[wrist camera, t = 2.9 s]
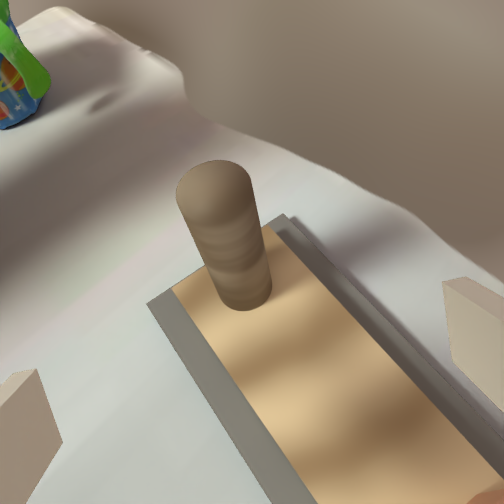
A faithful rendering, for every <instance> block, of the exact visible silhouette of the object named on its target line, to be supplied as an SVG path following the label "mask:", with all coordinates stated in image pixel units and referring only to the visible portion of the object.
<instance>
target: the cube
mask: <svg viewBox="0 0 504 504" xmlns="http://www.w3.org/2000/svg"><path fill="white" fill-rule="evenodd" d="M467 504H504V489H500V490H495V491H490V492H485V493H480V494H477V495H475V496H474V497H473V498H472V499H471V500H470V501H469V502H468V503H467Z"/></svg>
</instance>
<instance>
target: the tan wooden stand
mask: <svg viewBox="0 0 504 504" xmlns="http://www.w3.org/2000/svg"><path fill="white" fill-rule="evenodd" d="M176 201H177V204H178V206H179V208H180V210H181V213H182V215H183V217H184V219H185V222H186V224H187V226H188V228H189V230H190V233H191V235H192V237H193V239H194V241H195V244H196V246H197V248H198V250H199V252H200V255H201V257H202V259H203V261H204V264H205V266H204V267H202V268H201V269H199V270H198V271H196V272H195V273H193V274H192V275H190V276H189V277H187V278H186V279H184V280H183V281H181V282H180V283H178V284H177V285H175V286H174V287H172V288H171V289H172V290H173V292H174V293H175V295H176V297H177V298H178V299H179V301H180V302H181V304H182V305H183V307H184V308H185V310H186V311H187V313H188V314H189V316H190V317H191V319H192V320H193V321H194V323H195V324H196V326H197V327H198V329H199V330H200V332H201V333H202V335H203V336H204V338H205V339H206V340H207V342H208V343H209V345H210V346H211V348H212V349H213V351H214V352H215V354H216V355H217V357H218V358H219V360H220V361H221V362H222V364H223V365H224V367H225V368H226V370H227V371H228V373H229V374H230V376H231V377H232V379H233V380H234V381H235V383H236V384H237V386H238V387H239V389H240V390H241V392H242V393H243V395H244V396H245V398H246V399H247V401H248V402H249V403H250V405H251V406H252V408H253V409H254V411H255V412H256V414H257V415H258V417H259V418H260V420H261V421H262V422H263V424H264V425H265V427H266V428H267V430H268V431H269V433H270V434H271V436H272V437H273V439H274V440H275V442H276V443H277V444H278V446H279V447H280V449H281V450H282V452H283V453H284V455H285V456H286V458H287V459H288V461H289V462H290V463H291V465H292V466H293V468H294V469H295V471H296V472H297V474H298V475H299V477H300V478H301V480H302V481H303V483H304V484H305V485H306V487H307V488H308V490H309V491H310V493H311V494H312V496H313V497H314V499H315V500H316V502H317V503H318V504H467V503H468V502H469V501H470V500H471V499H472V498H473V497H474V496H475V495H477V494H480V493H485V492H490V491H495V490H500V489H504V480H503V479H502V477H501V476H500V475H499V474H498V473H497V472H496V471H495V470H494V469H493V468H492V467H491V466H490V464H489V463H488V462H487V461H486V460H485V459H484V458H483V457H482V456H481V455H480V454H479V453H478V452H477V450H476V449H475V448H474V447H473V446H472V445H471V444H470V443H469V442H468V441H467V440H466V439H465V437H464V436H463V435H462V434H461V433H460V432H459V431H458V430H457V429H456V428H455V427H454V426H453V424H452V423H451V422H450V421H449V420H448V419H447V418H446V417H445V416H444V415H443V414H442V413H441V412H440V410H439V409H438V408H437V407H436V406H435V405H434V404H433V403H432V402H431V401H430V400H429V399H428V397H427V396H426V395H425V394H424V393H423V392H422V391H421V390H420V389H419V388H418V387H417V386H416V384H415V383H414V382H413V381H412V380H411V379H410V378H409V377H408V376H407V375H406V374H405V373H404V372H403V370H402V369H401V368H400V367H399V366H398V365H397V364H396V363H395V362H394V361H393V360H392V359H391V357H390V356H389V355H388V354H387V353H386V352H385V351H384V350H383V349H382V348H381V347H380V346H379V344H378V343H377V342H376V341H375V340H374V339H373V338H372V337H371V336H370V335H369V334H368V333H367V332H366V330H365V329H364V328H363V327H362V326H361V325H360V324H359V323H358V322H357V321H356V320H355V319H354V317H353V316H352V315H351V314H350V313H349V312H348V311H347V310H346V309H345V308H344V307H343V306H342V304H341V303H340V302H339V301H338V300H337V299H336V298H335V297H334V296H333V295H332V294H331V293H330V292H329V290H328V289H327V288H326V287H325V286H324V285H323V284H322V283H321V282H320V281H319V280H318V279H317V277H316V276H315V275H314V274H313V273H312V272H311V271H310V270H309V269H308V268H307V267H306V266H305V264H304V263H303V262H302V261H301V260H300V259H299V258H298V257H297V256H296V255H295V254H294V253H293V252H292V250H291V249H290V248H289V247H288V246H287V245H286V244H285V243H284V242H283V241H282V240H281V239H280V237H279V236H278V235H277V234H276V233H275V232H274V231H273V230H272V229H271V228H270V227H269V226H268V224H267V225H266V226H264V227H263V228H261V226H260V221H259V216H258V212H257V207H256V202H255V197H254V192H253V188H252V183H251V179H250V176H249V174H248V173H247V172H246V170H245V169H244V168H242V167H241V166H239V165H238V164H236V163H233V162H230V161H224V160H215V161H209V162H205V163H202V164H200V165H198V166H196V167H194V168H192V169H191V170H190V171H188V172H187V173H186V174H185V175H184V176H183V178H182V179H181V180H180V182H179V184H178V186H177V190H176Z"/></svg>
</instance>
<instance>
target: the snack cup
mask: <svg viewBox="0 0 504 504" xmlns="http://www.w3.org/2000/svg"><path fill="white" fill-rule="evenodd" d="M50 84H51V79H50V75H49V73H48V72H47V70H46V69H45V68H44V67H43V66H42V65H41V64H40V63H39V62H38V60H37V59H36V58H35V57H34V56H33V55H32V54H31V53H30V52H29V51H28V50H27V48H26V47H25V46H24V45H23V43H22V41H21V39H20V36H19V34H18V32H17V30H16V28H15V26H14V24H13V22H12V20H11V17H10V11H9V3H8V0H0V129H5V128H6V127H8V126H11V125H14V124H16V123H18V122H20V121H21V120H23V119H25V118H27V117H28V116H29V115H30V114H32V113H35V112H36V110H37V108H38V105H39V103H40V101H41V98H42V97H43V95H44V94H45V93H46V92H47V91H48V89H49V87H50Z"/></svg>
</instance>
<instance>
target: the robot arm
mask: <svg viewBox="0 0 504 504" xmlns="http://www.w3.org/2000/svg"><path fill="white" fill-rule="evenodd" d="M442 286H443V294H444V302H445V310H446V318H447V325H448V333H449V341H450V349H451V357H452V362H453V363H454V364H455V365H456V366H457V367H458V368H459V369H460V370H461V371H462V372H463V373H464V374H465V375H466V376H467V377H468V378H469V379H470V380H471V381H472V382H473V383H474V384H475V385H476V386H477V387H478V388H479V389H480V390H481V391H482V392H483V393H484V394H485V395H486V396H487V397H488V398H489V399H490V400H491V401H492V402H493V403H494V404H495V405H496V406H497V407H498V408H499V409H500V410H501V411H502V412H503V413H504V298H503V297H501V296H500V295H498V294H496V293H494V292H493V291H491V290H489V289H487V288H486V287H484V286H482V285H480V284H478V283H477V282H475V281H473V280H471V279H470V278H468V277H462V278H457V279H453V280H448V281H443V282H442ZM62 443H63V442H62V439H61V436H60V433H59V430H58V428H57V425H56V422H55V419H54V416H53V413H52V411H51V408H50V405H49V402H48V399H47V397H46V394H45V391H44V388H43V385H42V383H41V380H40V377H39V374H38V371H37V369H31V370H27V371H22V372H17V373H13V374H12V375H11V376H10V377H9V378H8V379H7V380H6V381H5V382H4V383H3V384H2V385H1V386H0V504H26V502H27V500H28V499H29V497H30V495H31V494H32V492H33V490H34V489H35V487H36V486H37V484H38V482H39V481H40V479H41V477H42V476H43V474H44V472H45V471H46V469H47V468H48V466H49V464H50V463H51V461H52V459H53V458H54V456H55V454H56V453H57V451H58V450H59V448H60V446H61V445H62Z"/></svg>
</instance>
